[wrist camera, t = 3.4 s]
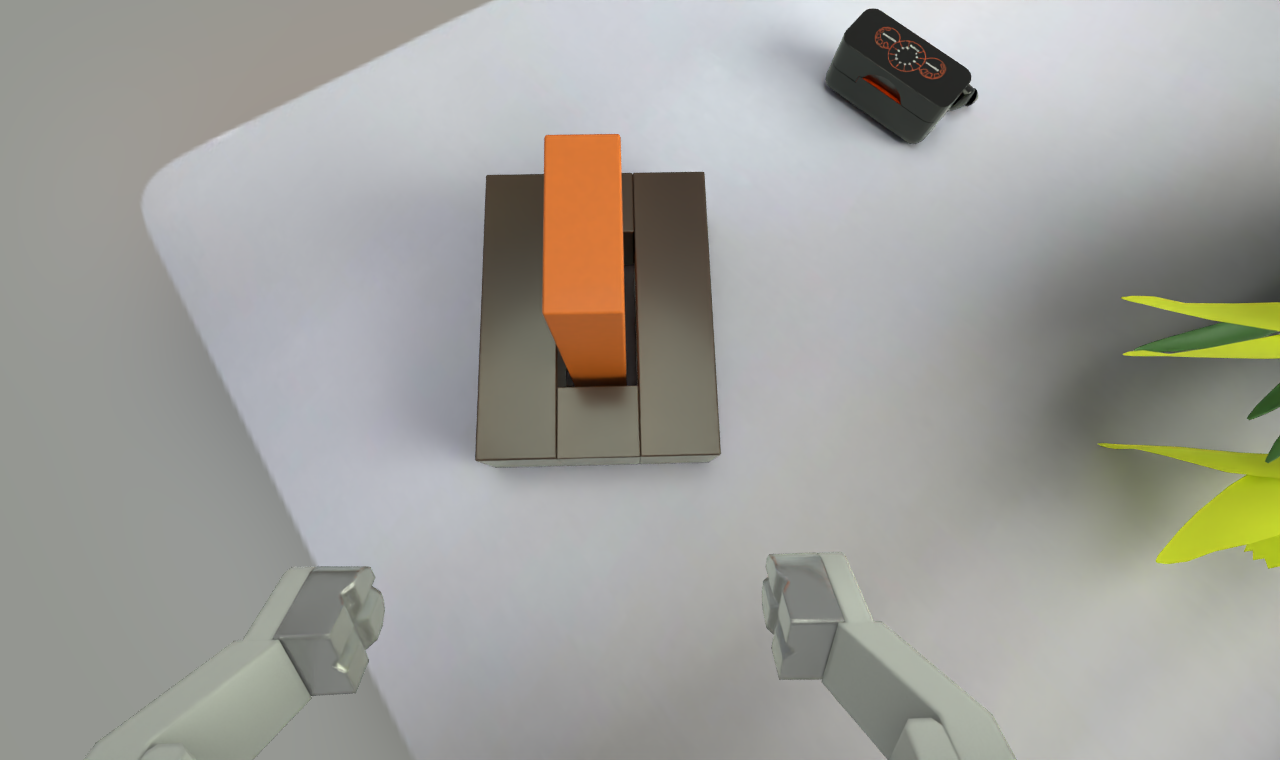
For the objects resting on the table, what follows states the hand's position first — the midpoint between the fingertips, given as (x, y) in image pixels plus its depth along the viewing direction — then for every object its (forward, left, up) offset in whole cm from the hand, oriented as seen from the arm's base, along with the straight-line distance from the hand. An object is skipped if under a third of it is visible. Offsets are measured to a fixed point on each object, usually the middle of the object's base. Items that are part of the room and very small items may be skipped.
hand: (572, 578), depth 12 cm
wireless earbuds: (+24, +15, -14) cm, 32 cm away
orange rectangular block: (+4, +9, -14) cm, 17 cm away
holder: (+4, +9, -14) cm, 17 cm away
